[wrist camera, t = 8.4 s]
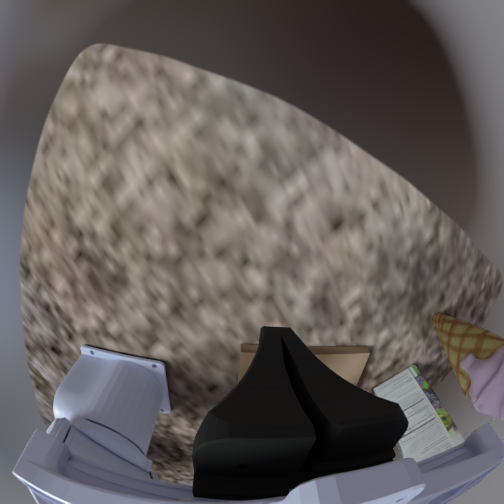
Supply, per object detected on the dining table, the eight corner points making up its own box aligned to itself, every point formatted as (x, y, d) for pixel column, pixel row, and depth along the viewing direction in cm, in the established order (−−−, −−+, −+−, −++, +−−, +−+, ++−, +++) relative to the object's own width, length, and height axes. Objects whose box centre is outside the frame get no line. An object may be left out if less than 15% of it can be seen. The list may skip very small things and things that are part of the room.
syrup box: (418, 387, 26) (467, 467, 12) (378, 410, 27) (418, 498, 13) (413, 362, 25) (475, 452, 11) (369, 388, 26) (417, 490, 12)
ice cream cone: (403, 345, 24) (476, 449, 10) (419, 292, 22) (522, 388, 8) (445, 337, 24) (518, 419, 10) (462, 289, 22) (554, 362, 8)
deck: (228, 472, 31) (227, 478, 29) (241, 343, 23) (241, 352, 22) (304, 471, 31) (305, 477, 30) (365, 345, 23) (370, 353, 22)
